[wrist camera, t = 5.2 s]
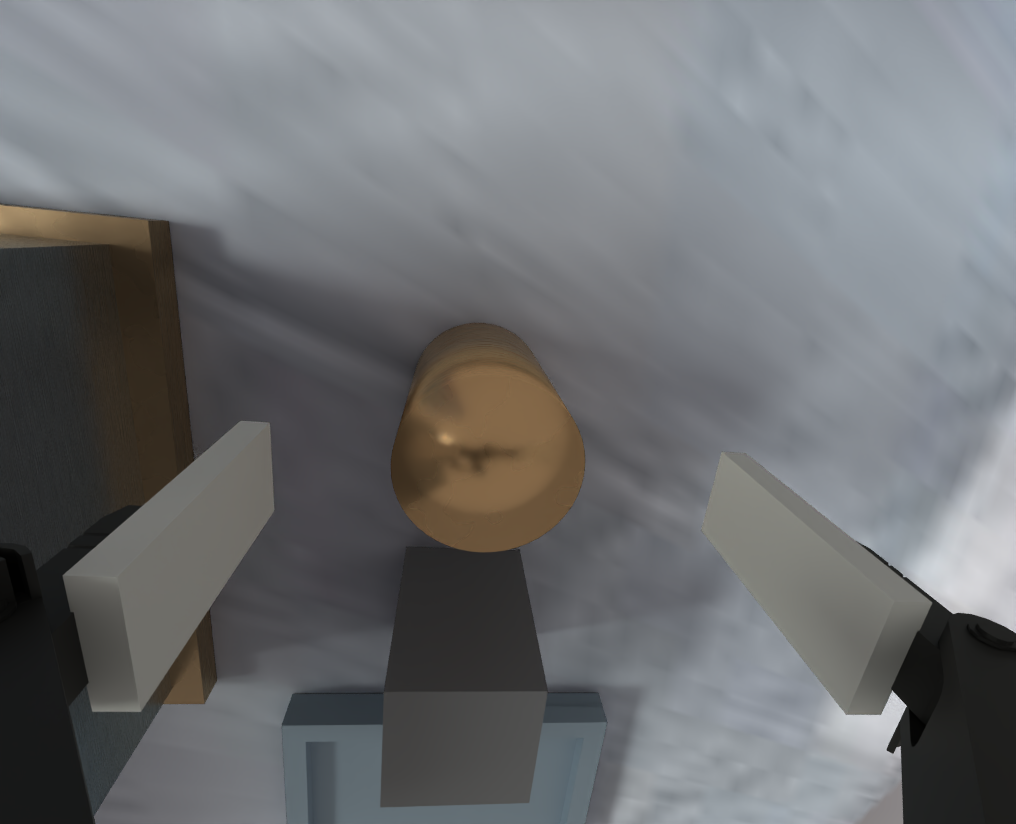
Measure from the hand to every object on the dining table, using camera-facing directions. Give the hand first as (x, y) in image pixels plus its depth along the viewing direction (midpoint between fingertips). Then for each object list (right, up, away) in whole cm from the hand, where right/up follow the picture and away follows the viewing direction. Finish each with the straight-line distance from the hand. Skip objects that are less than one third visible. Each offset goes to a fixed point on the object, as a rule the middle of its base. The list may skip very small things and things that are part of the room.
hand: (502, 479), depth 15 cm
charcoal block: (-3, -8, +13) cm, 16 cm away
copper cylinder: (-1, +3, +9) cm, 10 cm away
